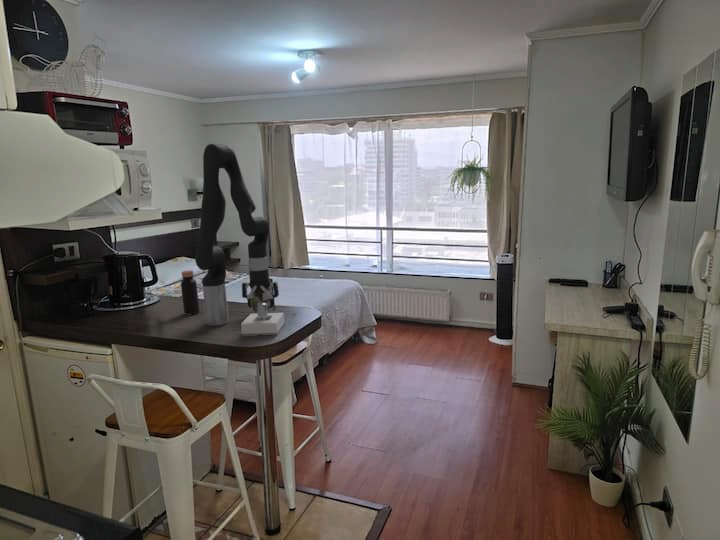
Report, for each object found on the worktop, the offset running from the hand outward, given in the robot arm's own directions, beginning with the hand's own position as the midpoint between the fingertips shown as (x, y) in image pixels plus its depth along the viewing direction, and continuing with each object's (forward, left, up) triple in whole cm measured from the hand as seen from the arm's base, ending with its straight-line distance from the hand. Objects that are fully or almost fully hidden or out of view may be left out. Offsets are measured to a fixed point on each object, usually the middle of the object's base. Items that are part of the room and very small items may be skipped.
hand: (261, 307), depth 186 cm
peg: (0, 0, -9) cm, 9 cm away
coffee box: (-6, +24, -10) cm, 27 cm away
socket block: (0, 0, -10) cm, 10 cm away
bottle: (-41, +27, -10) cm, 50 cm away
